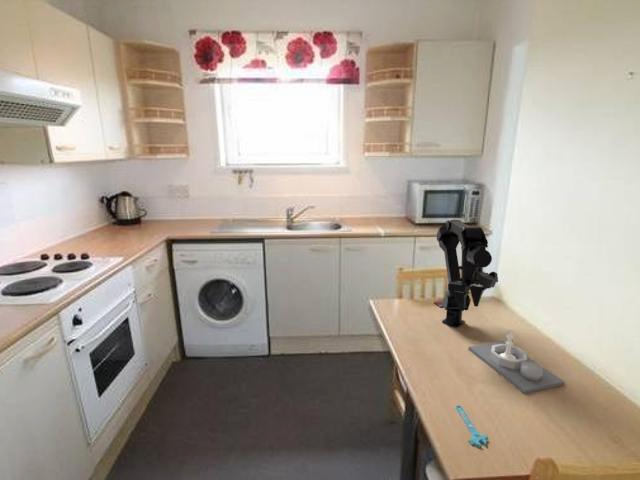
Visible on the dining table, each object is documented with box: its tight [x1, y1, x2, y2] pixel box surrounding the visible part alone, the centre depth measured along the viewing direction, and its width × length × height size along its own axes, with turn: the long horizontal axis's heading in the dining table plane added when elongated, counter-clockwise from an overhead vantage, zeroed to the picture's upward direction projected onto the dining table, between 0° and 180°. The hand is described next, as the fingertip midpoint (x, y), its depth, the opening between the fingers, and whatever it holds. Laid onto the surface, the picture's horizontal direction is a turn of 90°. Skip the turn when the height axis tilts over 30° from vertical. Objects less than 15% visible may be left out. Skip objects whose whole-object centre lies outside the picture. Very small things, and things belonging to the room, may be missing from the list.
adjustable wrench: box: [455, 404, 489, 448], centre depth 91 cm, size 14×1×5 cm
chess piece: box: [500, 329, 516, 360], centre depth 116 cm, size 5×5×10 cm
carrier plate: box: [467, 340, 565, 395], centre depth 115 cm, size 24×14×4 cm, turn 16°
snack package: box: [433, 299, 444, 308], centre depth 161 cm, size 12×2×5 cm
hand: (469, 308), depth 126 cm, fingers open, 9 cm apart
